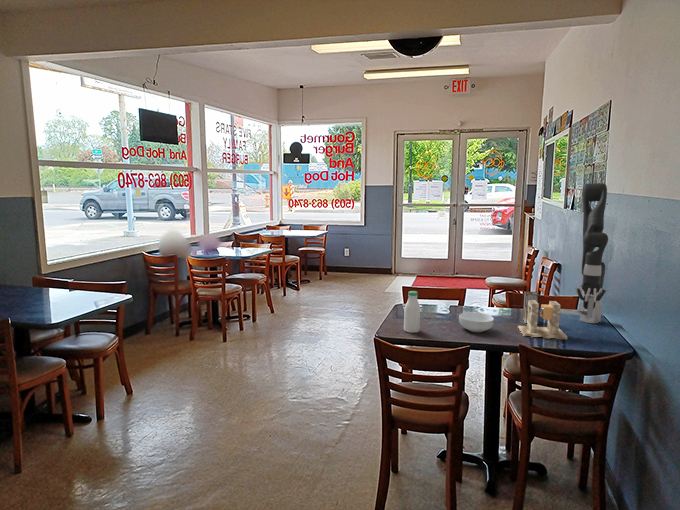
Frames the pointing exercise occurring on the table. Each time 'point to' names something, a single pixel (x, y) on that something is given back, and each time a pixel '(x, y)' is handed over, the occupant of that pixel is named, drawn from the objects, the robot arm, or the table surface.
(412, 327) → the milk bottle
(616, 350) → the table surface
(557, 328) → the stand
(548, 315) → the spacer
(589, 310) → the shaft
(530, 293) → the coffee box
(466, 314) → the cereal bowl
